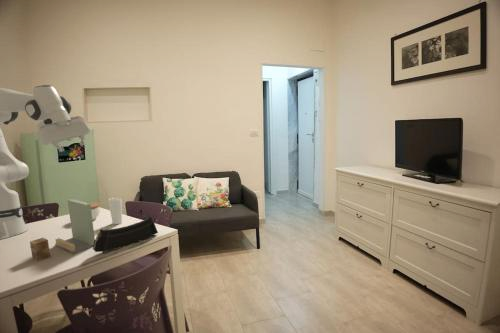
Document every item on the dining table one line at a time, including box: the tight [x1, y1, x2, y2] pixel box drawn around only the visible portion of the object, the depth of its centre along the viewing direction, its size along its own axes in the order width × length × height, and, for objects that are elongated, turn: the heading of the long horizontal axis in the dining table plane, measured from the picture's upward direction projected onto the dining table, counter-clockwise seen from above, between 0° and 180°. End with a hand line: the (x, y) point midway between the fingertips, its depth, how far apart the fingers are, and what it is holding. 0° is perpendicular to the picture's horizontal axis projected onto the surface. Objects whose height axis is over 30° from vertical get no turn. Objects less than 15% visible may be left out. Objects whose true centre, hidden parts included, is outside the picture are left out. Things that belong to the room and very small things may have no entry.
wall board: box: [54, 198, 96, 255], centre depth 135 cm, size 10×18×21 cm, turn 57°
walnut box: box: [29, 237, 51, 262], centre depth 124 cm, size 6×5×8 cm
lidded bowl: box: [86, 201, 101, 221], centre depth 174 cm, size 13×13×11 cm
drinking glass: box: [108, 196, 123, 225], centre depth 166 cm, size 7×7×15 cm
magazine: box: [92, 216, 159, 254], centre depth 136 cm, size 17×3×30 cm
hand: (73, 148), depth 130 cm, fingers open, 8 cm apart
